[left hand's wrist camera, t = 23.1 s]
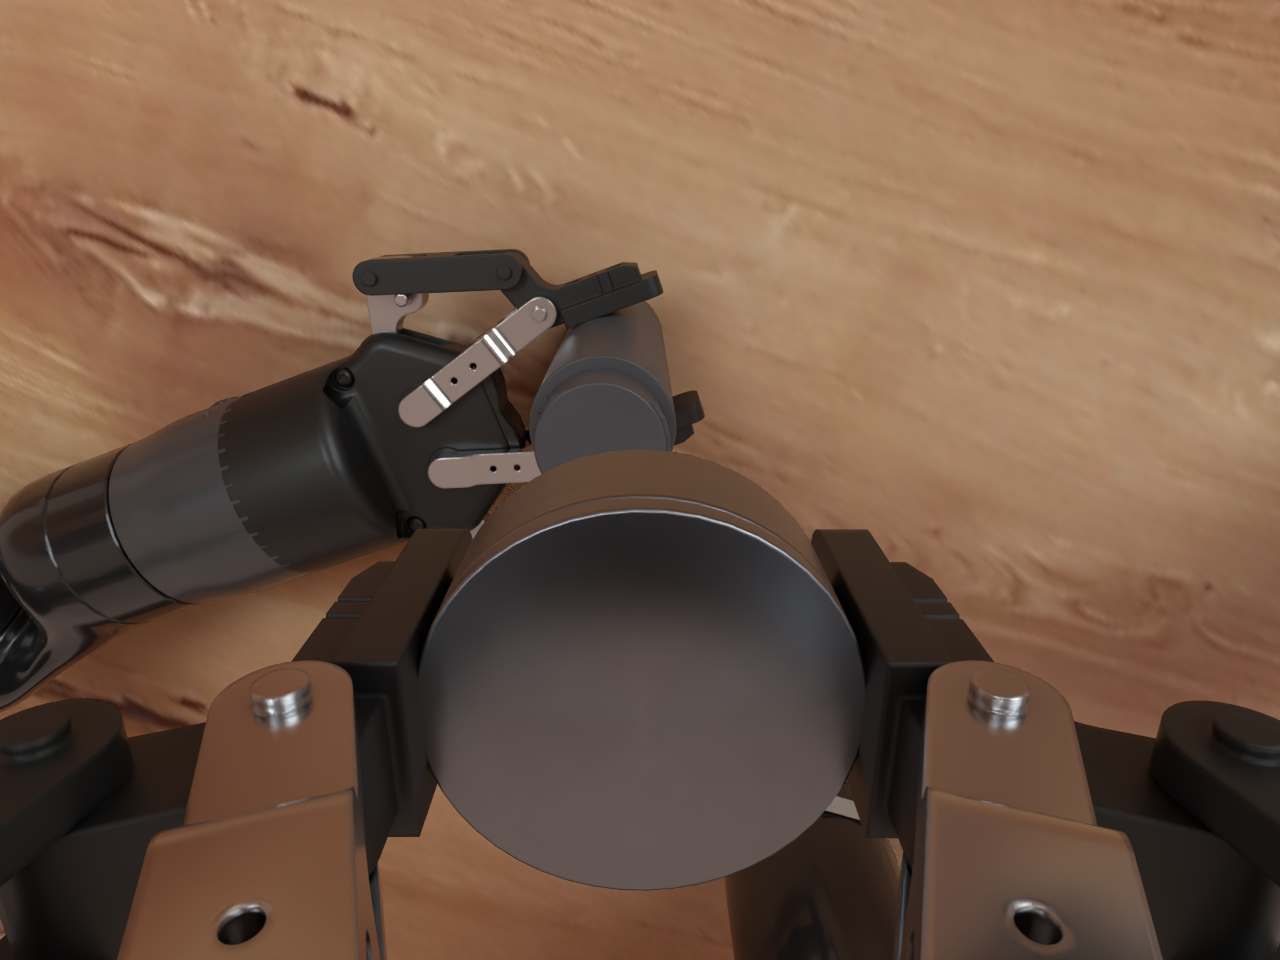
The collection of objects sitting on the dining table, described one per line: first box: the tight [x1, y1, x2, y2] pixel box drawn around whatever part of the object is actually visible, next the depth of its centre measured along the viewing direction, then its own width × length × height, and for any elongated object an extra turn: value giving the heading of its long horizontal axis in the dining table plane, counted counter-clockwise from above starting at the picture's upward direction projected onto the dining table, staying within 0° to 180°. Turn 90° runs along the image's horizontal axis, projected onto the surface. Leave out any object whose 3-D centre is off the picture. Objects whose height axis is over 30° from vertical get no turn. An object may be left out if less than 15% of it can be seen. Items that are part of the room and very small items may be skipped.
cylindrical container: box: [529, 301, 676, 474], centre depth 29 cm, size 4×4×16 cm
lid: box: [417, 449, 866, 890], centre depth 10 cm, size 5×5×2 cm
